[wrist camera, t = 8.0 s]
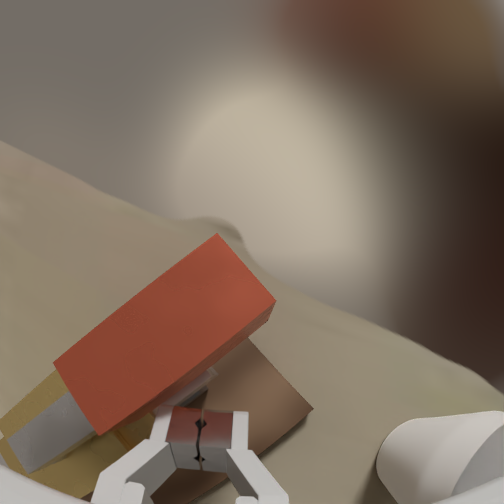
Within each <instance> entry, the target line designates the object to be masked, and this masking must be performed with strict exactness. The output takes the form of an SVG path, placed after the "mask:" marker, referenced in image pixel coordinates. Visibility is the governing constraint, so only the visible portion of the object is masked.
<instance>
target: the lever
mask: <svg viewBox="0 0 504 504" xmlns="http://www.w3.org/2000/svg"><path fill="white" fill-rule="evenodd" d="M275 302H276V300H275V299H274V297H273V296H272V295H271V294H270V293H269V292H268V291H267V290H266V288H265V287H264V286H263V285H262V284H261V283H260V282H259V280H258V279H257V278H256V277H255V276H254V275H253V274H252V272H251V271H250V270H249V269H248V268H247V267H246V266H245V264H244V263H243V262H242V261H241V260H240V259H239V258H238V256H237V255H236V254H235V253H234V252H233V251H232V249H231V248H230V247H229V246H228V245H227V244H226V243H225V241H224V240H223V239H222V238H221V237H220V236H219V235H218V233H216V234H215V235H214V236H212V237H211V238H210V239H208V240H207V241H206V242H204V243H203V244H202V245H200V246H199V247H198V248H196V249H195V250H194V251H192V252H191V253H190V254H189V255H187V256H186V257H185V258H183V259H182V260H181V261H179V262H178V263H177V264H175V265H174V266H173V267H171V268H170V269H169V270H168V271H166V272H165V273H164V274H162V275H161V276H160V277H158V278H157V279H156V280H155V281H153V282H152V283H151V284H149V285H148V286H147V287H146V288H144V289H143V290H142V291H140V292H139V293H138V294H137V295H135V296H134V297H133V298H132V299H130V300H129V301H128V302H127V303H125V304H124V305H123V306H121V307H120V308H119V309H118V310H116V311H115V312H114V313H113V314H111V315H110V316H109V317H108V318H106V319H105V320H104V321H103V322H102V323H100V324H99V325H98V326H97V327H95V328H94V329H93V330H92V331H90V332H89V333H88V334H87V335H86V336H84V337H83V338H82V339H81V340H79V341H78V342H77V343H76V344H75V345H73V346H72V347H71V348H70V349H69V350H67V351H66V352H65V353H64V354H63V355H61V356H60V357H59V358H58V359H57V360H55V361H54V362H53V364H54V365H55V367H56V369H57V371H58V373H59V374H60V376H61V378H62V380H63V381H64V383H65V385H66V386H67V388H68V390H69V391H68V392H67V393H65V394H64V395H63V396H62V397H60V398H59V399H58V400H57V401H55V402H54V403H53V404H51V405H50V406H49V407H48V408H46V409H45V410H44V411H43V412H41V413H40V414H39V415H37V416H36V417H35V418H34V419H32V420H31V421H30V422H29V423H27V424H26V425H25V426H24V427H22V428H21V429H20V430H18V431H17V432H16V433H15V434H13V435H12V436H11V437H10V438H8V439H7V441H8V443H9V445H10V446H11V448H12V450H13V452H14V453H15V455H16V457H17V458H18V460H19V461H20V463H21V465H22V466H23V468H24V469H25V471H26V472H27V474H31V473H34V472H36V471H39V470H42V469H44V468H46V467H48V466H49V465H52V464H54V463H57V462H59V461H62V460H64V459H65V457H66V455H67V454H68V453H69V452H71V451H72V450H74V449H75V448H77V447H78V446H80V445H81V444H83V443H84V442H86V441H87V440H89V439H90V438H91V437H93V436H94V435H96V434H98V435H99V436H101V435H103V434H106V433H108V432H111V431H113V430H116V429H118V428H121V427H123V426H126V425H128V424H131V423H133V422H135V421H138V420H140V419H141V418H143V417H144V416H145V415H147V414H148V413H150V412H151V411H152V410H154V409H155V408H156V407H158V406H159V405H160V404H162V403H163V402H165V401H166V400H167V399H169V398H170V397H172V396H173V395H174V394H176V393H177V392H178V391H180V390H181V389H182V388H184V387H185V386H186V385H188V384H189V383H190V382H191V381H193V380H194V379H195V378H197V377H198V376H199V375H201V374H202V373H203V372H205V371H206V370H207V369H208V368H210V367H211V366H212V365H214V364H215V363H216V362H217V361H219V360H220V359H221V358H222V357H224V356H225V355H226V354H227V353H229V352H230V351H231V350H233V349H234V348H235V347H236V346H237V345H239V344H240V343H241V342H242V341H244V340H245V339H246V338H247V337H249V336H250V335H251V334H252V333H253V332H255V331H256V330H257V329H258V328H260V327H261V326H262V325H263V324H264V323H266V322H267V321H268V319H269V317H270V314H271V312H272V309H273V307H274V305H275Z"/></svg>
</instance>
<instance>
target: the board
mask: <svg viewBox="0 0 504 504" xmlns="http://www.w3.org/2000/svg"><path fill="white" fill-rule="evenodd" d="M211 367H212V368H213V369H214V370H215V371H216V372H217V374H218V375H217V376H216V377H215V378H214V379H212V380H211V381H210V382H209V383H207V384H206V386H207V387H208V390H207V391H205V392H204V393H203V394H201V395H200V396H199V397H198V398H196V399H195V400H194V401H193V402H191V403H190V404H189V405H187V406H186V407H187V408H195V409H203V413H204V411H205V409H211V410H228V411H233V413H234V411H242V412H248V414H249V420H248V450H252V451H253V452H254V453H255V455H256V456H258V455H259V454H260V453H262V452H263V451H264V450H265V449H267V448H268V447H269V446H270V445H272V444H273V443H274V442H275V441H277V440H278V439H279V438H280V437H282V436H283V435H284V434H285V433H286V432H288V431H289V430H290V429H291V428H292V427H294V426H295V425H296V424H297V423H298V422H299V421H300V420H302V419H303V418H304V417H305V416H306V415H307V414H308V413H310V412H311V411H312V410H313V409H314V408H313V407H312V406H311V405H310V404H309V403H308V402H307V401H306V400H305V399H304V398H303V397H302V396H301V395H300V394H299V393H298V392H297V391H296V390H295V389H294V388H293V387H292V385H291V384H290V383H289V382H288V381H287V380H286V379H285V378H284V377H283V376H282V375H281V374H280V373H279V372H278V370H277V369H276V368H275V367H274V366H273V365H272V364H271V363H270V362H269V361H268V360H267V358H266V357H265V356H264V355H263V354H262V353H261V352H260V351H259V350H258V348H257V347H256V346H255V345H254V344H253V343H252V342H251V341H250V340H249V338H248V337H247V338H246V339H245V340H244V341H242V342H241V343H240V344H239V345H237V346H236V347H235V348H234V349H233V350H231V351H230V352H229V353H227V354H226V355H225V356H224V357H222V358H221V359H220V360H219V361H217V362H216V363H215V364H214V365H212V366H211ZM226 478H228V475H227V473H223V472H213V471H204V470H203V468H202V460H201V467H200V470H194V469H184V468H176V470H175V471H174V472H173V473H172V474H171V475H170V476H169V477H168V478H167V479H166V481H165V482H164V483H163V484H162V485H161V486H160V487H159V488H158V489H157V490H156V491H155V492H154V493H153V494H152V495H151V496H150V498H151V499H152V501H153V503H154V504H188V503H189V502H191V501H193V500H194V499H196V498H197V497H199V496H200V495H202V494H204V493H205V492H207V491H208V490H210V489H211V488H213V487H214V486H216V485H217V484H219V483H220V482H222V481H223V480H225V479H226ZM93 493H94V491H92V492H90V493H89V494H87V495H85V496H83V497H82V498H80V499H82V500H85V501H88V502H91V499H92V496H93Z"/></svg>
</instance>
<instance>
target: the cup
mask: <svg viewBox="0 0 504 504" xmlns="http://www.w3.org/2000/svg"><path fill="white" fill-rule="evenodd" d="M376 469H377V474H378V476H379V478H380V480H381V481H382V483H383V484H384V485H385V487H386V488H387V490H388V491H389V492H390V494H391V495H392V496H393V498H394V499H395V500H396V502H397V503H398V504H431V503H434V502H437V501H440V500H443V499H446V498H449V497H452V496H454V495H457V494H460V493H462V492H465V491H467V490H470V489H472V488H475V487H477V486H479V485H482V484H484V483H486V482H488V481H490V480H493V479H495V478H497V477H500V476H504V412H501V411H485V412H478V413H471V414H463V415H454V416H444V417H433V418H418V419H412V420H409V421H406V422H404V423H402V424H401V425H399V426H398V427H396V428H395V429H394V430H393V431H392V432H391V433H390V434H389V435H388V436H387V438H386V439H385V440H384V442H383V444H382V445H381V447H380V450H379V452H378V456H377V461H376Z"/></svg>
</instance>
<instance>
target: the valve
mask: <svg viewBox="0 0 504 504" xmlns="http://www.w3.org/2000/svg"><path fill="white" fill-rule="evenodd" d="M217 375H218V374H217V372H216V371H215V370H214V369H213V368H212V367H210V368H208V369H207V370H206V371H205V372H203V373H202V374H201V375H199V376H198V377H197V378H195V379H194V380H193V381H191V382H190V383H189V384H188V385H186V386H185V387H184V388H182V389H181V390H180V391H178V392H177V393H176V394H174V395H173V396H172V397H170V398H169V399H167V400H166V401H165V402H163V403H162V404H166V405H173V406H180V407H186V406H187V405H189V404H190V403H191V402H193V401H194V400H195V399H196V398H198V397H199V396H200V395H201V394H203V393H204V392H205V391H207V390H208V387H207V386H206V384H207V383H209V382H210V381H211V380H212V379H214V378H215V377H216V376H217ZM68 391H69V390H68V388H67V386H66V385H65V383H64V381H63V380H62V378H61V376H60V374H59V373H58V371H57V369H56V370H55V371H54V372H53V373H52V374H50V375H49V376H48V377H47V378H46V379H45V380H44V381H42V382H41V383H40V384H39V385H38V386H37V387H36V388H34V389H33V390H32V391H31V392H30V393H29V394H28V395H27V396H26V397H24V398H23V399H22V400H21V401H20V402H19V403H18V404H17V405H16V406H14V407H13V408H12V409H11V410H10V411H9V412H8V413H7V414H6V415H5V416H3V417H2V418H1V419H0V430H1V432H2V433H3V435H4V437H3V438H2V439H1V440H0V464H2V465H4V466H6V467H7V468H9V469H11V470H13V471H15V472H17V473H19V474H21V475H23V476H25V477H28V478H30V479H32V480H34V481H36V482H38V483H41V484H43V485H45V486H48V487H50V488H52V489H55V490H57V491H60V492H63V493H65V494H68V495H70V496H73V497H76V498H79V499H80V498H82V497H83V496H85V495H87V494H89V493H90V492H92V491H94V490H95V487H96V484H97V481H98V478H99V475H100V473H101V472H102V471H104V470H105V469H106V468H108V467H109V466H110V465H112V464H113V463H114V462H116V461H117V460H118V459H120V458H121V457H122V456H124V455H125V454H126V453H128V452H129V451H130V450H132V449H133V448H134V447H136V446H137V445H138V444H139V443H141V442H142V441H143V440H144V439H149V438H150V435H151V431H152V428H153V424H154V421H155V417H156V414H157V410H158V407H159V406H160V405H159V406H158V407H156V408H155V409H154V410H152V411H151V412H150V413H148V414H147V415H145V416H144V417H143V418H141V419H140V420H138V421H135V422H133V423H131V424H128V425H126V426H123V427H121V428H118V429H116V430H113V431H111V432H108V433H106V434H103V435H101V436H99V435H98V434H96V435H94V436H93V437H91V438H90V439H89V440H87V441H86V442H84V443H83V444H81V445H80V446H78V447H77V448H75V449H74V450H72V451H71V452H69V453H68V454H67V455H66V457H65V459H64V460H62V461H59V462H57V463H54V464H52V465H49V466H48V467H46V468H44V469H42V470H39V471H36V472H34V473H31V474H27V472H26V471H25V469H24V468H23V466H22V465H21V463H20V461H19V460H18V458H17V457H16V455H15V453H14V452H13V450H12V448H11V446H10V445H9V443H8V441H7V439H8V438H10V437H11V436H12V435H13V434H15V433H16V432H17V431H18V430H20V429H21V428H22V427H24V426H25V425H26V424H27V423H29V422H30V421H31V420H32V419H34V418H35V417H36V416H37V415H39V414H40V413H41V412H43V411H44V410H45V409H46V408H48V407H49V406H50V405H51V404H53V403H54V402H55V401H57V400H58V399H59V398H60V397H62V396H63V395H64V394H65V393H67V392H68Z"/></svg>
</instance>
